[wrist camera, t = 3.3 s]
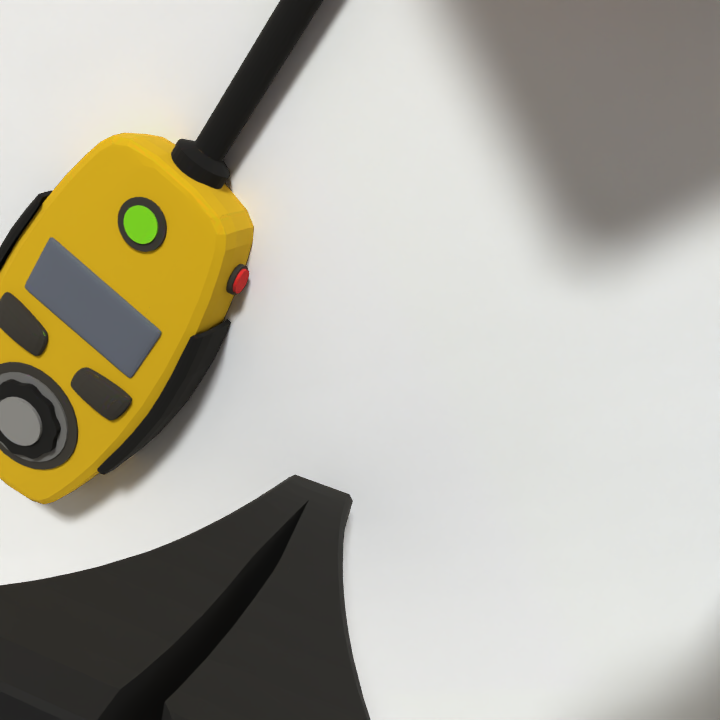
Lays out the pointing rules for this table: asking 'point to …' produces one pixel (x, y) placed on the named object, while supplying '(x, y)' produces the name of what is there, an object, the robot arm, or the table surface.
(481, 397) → the table surface
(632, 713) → the table surface
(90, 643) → the robot arm
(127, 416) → the yellow walkie talkie
